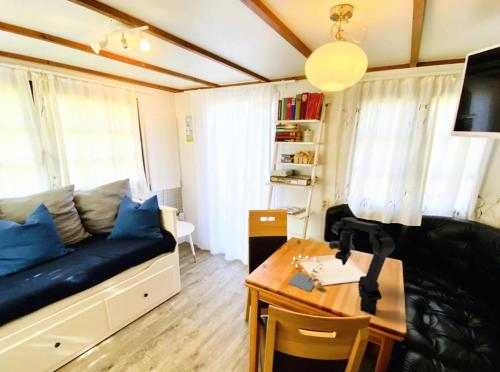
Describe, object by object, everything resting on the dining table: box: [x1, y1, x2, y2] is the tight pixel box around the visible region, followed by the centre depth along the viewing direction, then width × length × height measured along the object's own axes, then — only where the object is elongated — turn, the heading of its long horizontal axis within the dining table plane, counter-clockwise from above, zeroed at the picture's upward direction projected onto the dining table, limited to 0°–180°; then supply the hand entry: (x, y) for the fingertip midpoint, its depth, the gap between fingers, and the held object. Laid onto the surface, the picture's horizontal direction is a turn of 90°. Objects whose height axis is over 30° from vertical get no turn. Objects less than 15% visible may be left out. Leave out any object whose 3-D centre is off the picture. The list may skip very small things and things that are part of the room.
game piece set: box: [291, 254, 322, 272], centre depth 156 cm, size 19×20×4 cm
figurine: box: [308, 272, 322, 289], centre depth 134 cm, size 8×6×12 cm
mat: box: [287, 271, 319, 293], centre depth 136 cm, size 13×14×1 cm
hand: (343, 264), depth 133 cm, fingers closed
